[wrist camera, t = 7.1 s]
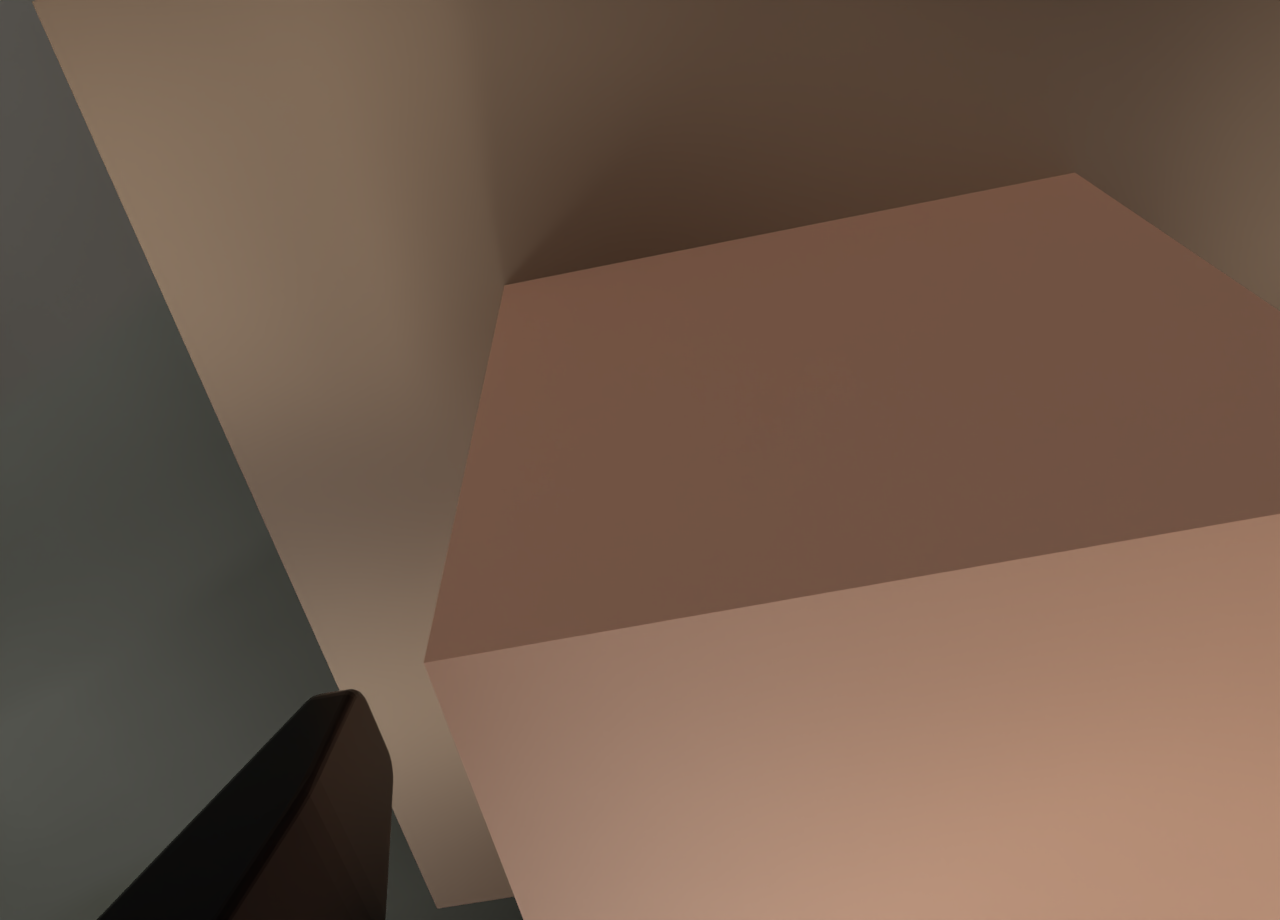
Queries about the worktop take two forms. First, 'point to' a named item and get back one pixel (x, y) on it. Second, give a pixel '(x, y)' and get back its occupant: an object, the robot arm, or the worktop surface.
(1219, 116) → the flat square plate
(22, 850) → the worktop surface
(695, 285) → the terracotta cube
